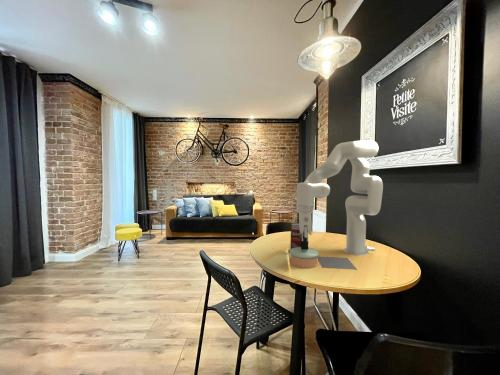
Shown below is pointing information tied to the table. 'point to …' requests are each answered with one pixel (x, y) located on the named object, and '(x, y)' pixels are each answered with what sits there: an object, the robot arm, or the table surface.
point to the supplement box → (295, 236)
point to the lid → (304, 253)
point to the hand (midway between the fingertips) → (304, 247)
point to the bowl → (304, 262)
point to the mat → (336, 263)
